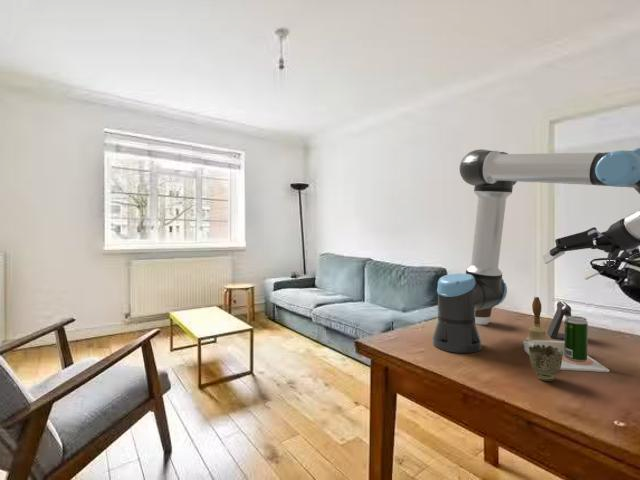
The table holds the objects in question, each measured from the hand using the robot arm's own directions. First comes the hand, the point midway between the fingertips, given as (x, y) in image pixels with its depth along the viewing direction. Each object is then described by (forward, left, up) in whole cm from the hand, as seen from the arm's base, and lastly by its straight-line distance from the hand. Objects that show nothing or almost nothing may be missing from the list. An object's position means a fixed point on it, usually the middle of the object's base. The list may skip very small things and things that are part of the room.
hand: (564, 267), depth 104 cm
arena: (-2, -4, -27) cm, 27 cm away
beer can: (+1, -5, -26) cm, 27 cm away
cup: (-12, -18, -27) cm, 35 cm away
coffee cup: (-16, +34, -27) cm, 46 cm away
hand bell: (-4, +9, -27) cm, 29 cm away
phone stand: (+8, +19, -27) cm, 34 cm away
